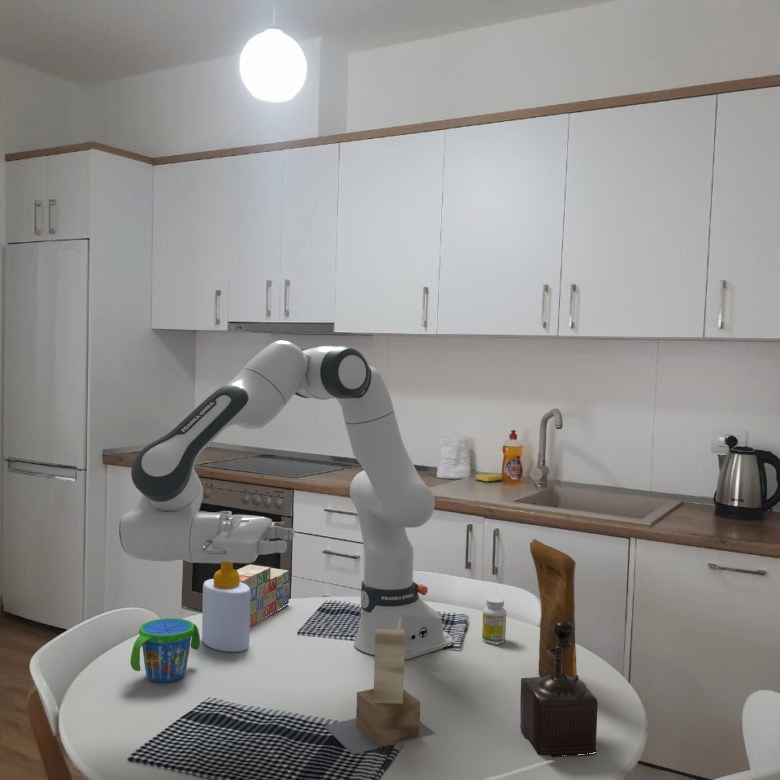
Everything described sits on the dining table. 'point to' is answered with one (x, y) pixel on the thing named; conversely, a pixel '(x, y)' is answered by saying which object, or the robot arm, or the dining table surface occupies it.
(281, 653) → the dining table surface
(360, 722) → the walnut block
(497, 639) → the supplement bottle
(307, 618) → the dining table surface
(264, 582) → the stack of blocks
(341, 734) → the mat
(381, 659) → the oak column
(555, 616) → the pancake mix bag
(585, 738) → the manual coffee grinder
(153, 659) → the snack cup
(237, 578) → the soap bottle
